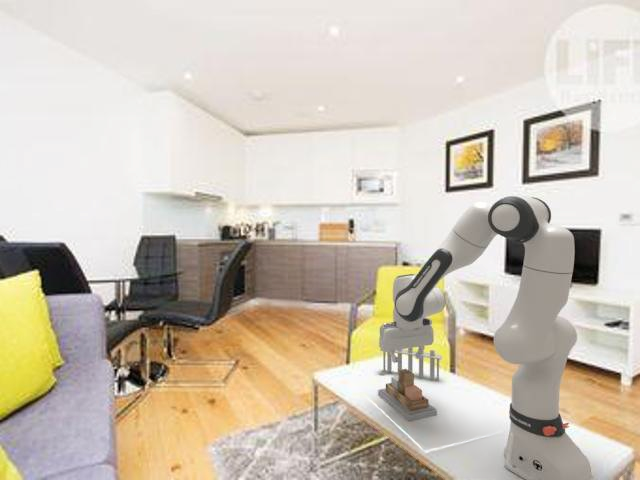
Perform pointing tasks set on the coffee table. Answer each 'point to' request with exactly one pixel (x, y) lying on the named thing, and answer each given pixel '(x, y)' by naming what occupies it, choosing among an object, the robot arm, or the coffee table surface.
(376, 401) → the coffee table surface
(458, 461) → the coffee table surface
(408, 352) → the test tube rack
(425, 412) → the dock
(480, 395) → the coffee table surface
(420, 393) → the block
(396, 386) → the pale blue cube
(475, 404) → the coffee table surface
